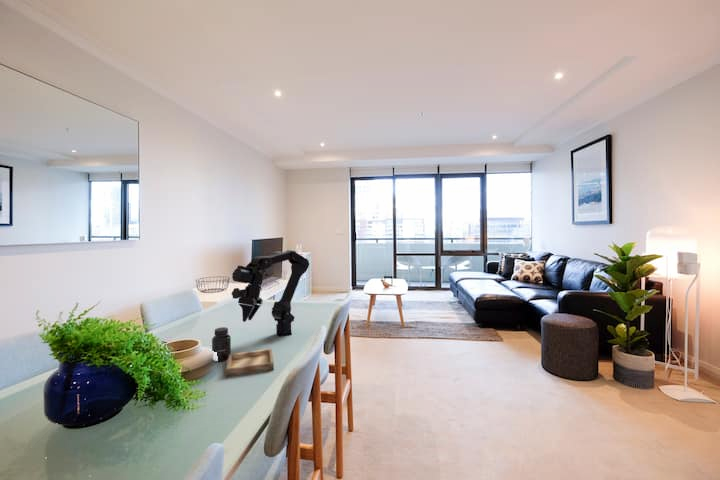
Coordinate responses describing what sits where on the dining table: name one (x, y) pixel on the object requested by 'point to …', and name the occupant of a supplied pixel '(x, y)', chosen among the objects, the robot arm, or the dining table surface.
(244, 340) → the dining table surface
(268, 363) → the oak tray
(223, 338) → the supplement bottle
